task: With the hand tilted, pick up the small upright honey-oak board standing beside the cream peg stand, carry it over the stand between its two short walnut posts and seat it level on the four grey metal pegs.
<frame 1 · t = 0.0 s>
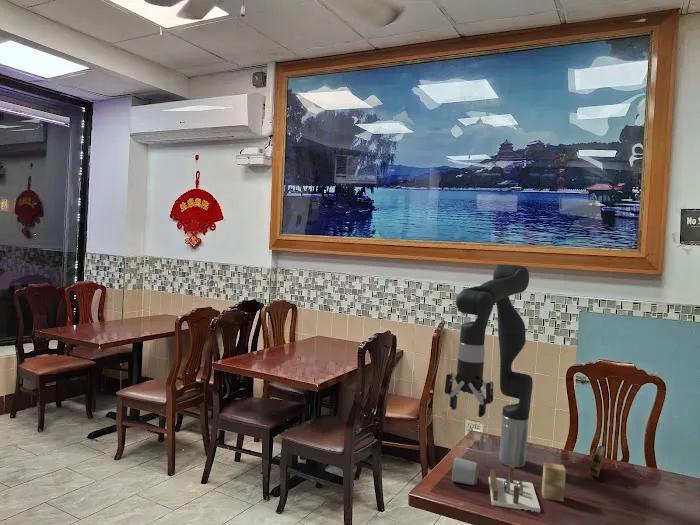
hand: (467, 412, 152), 29 cm above the table, tool pointing down, fingers open, 8 cm apart
oak board: (552, 497, 164), on the table
peg stand: (512, 495, 164), on the table
pegs: (513, 487, 164), in the walnut frame, point 3 cm above the table
ceramic mug: (463, 481, 172), on the table
walnut frame: (503, 482, 164), on the peg stand, point 4 cm above the table
wooden carving: (595, 474, 183), on the table
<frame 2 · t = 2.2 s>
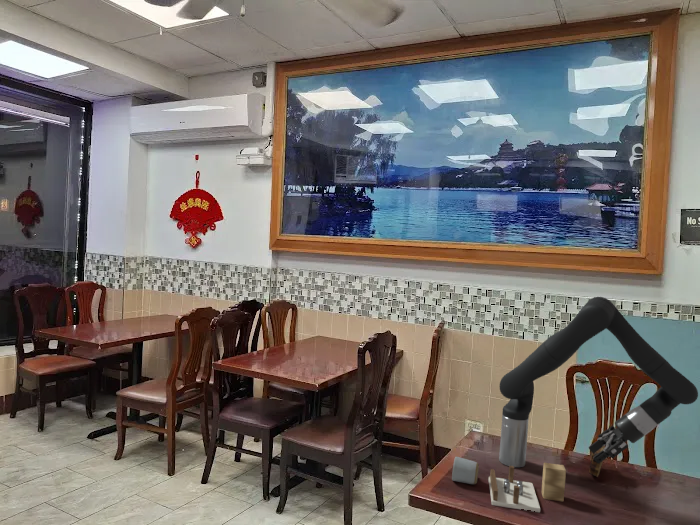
hand: (592, 455, 160), 16 cm above the table, tool tilted 45°, fingers open, 8 cm apart
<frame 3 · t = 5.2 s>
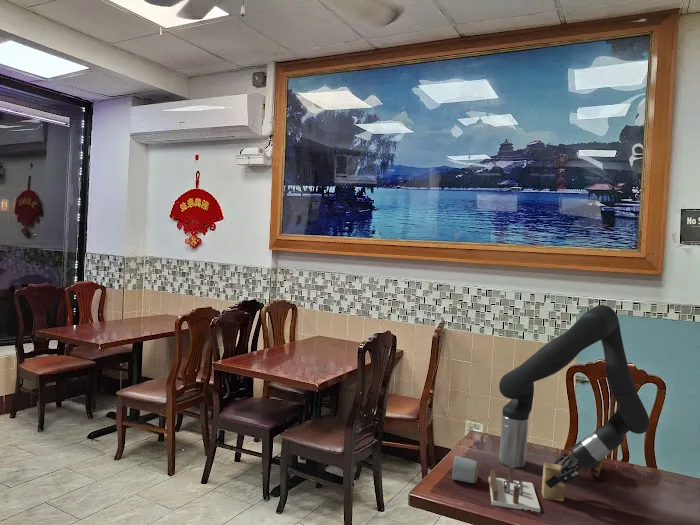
hand: (547, 482, 164), 5 cm above the table, tool tilted 45°, fingers closed on oak board, 4 cm apart
oak board: (552, 497, 164), on the table, touching gripper
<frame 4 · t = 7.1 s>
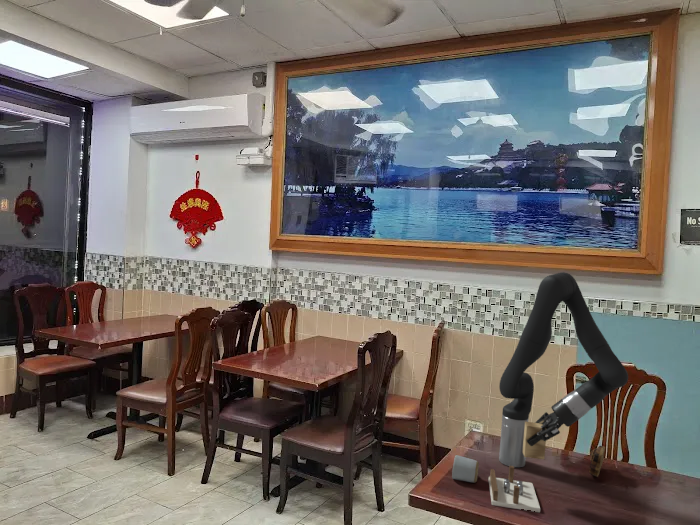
hand: (527, 440, 164), 18 cm above the table, tool tilted 45°, fingers closed on oak board, 4 cm apart
oak board: (533, 455, 164), point 13 cm above the table, touching gripper
when the fingers open (10 cm above the table, at t = 9.4 s): oak board stays where it is, resting on pegs.
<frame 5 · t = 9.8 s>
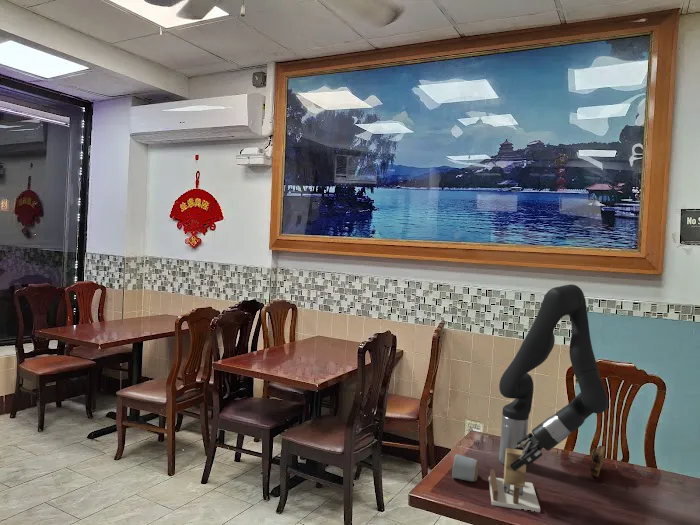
hand: (510, 462, 164), 10 cm above the table, tool tilted 45°, fingers open, 8 cm apart
oak board: (513, 482, 164), point 4 cm above the table, touching pegs
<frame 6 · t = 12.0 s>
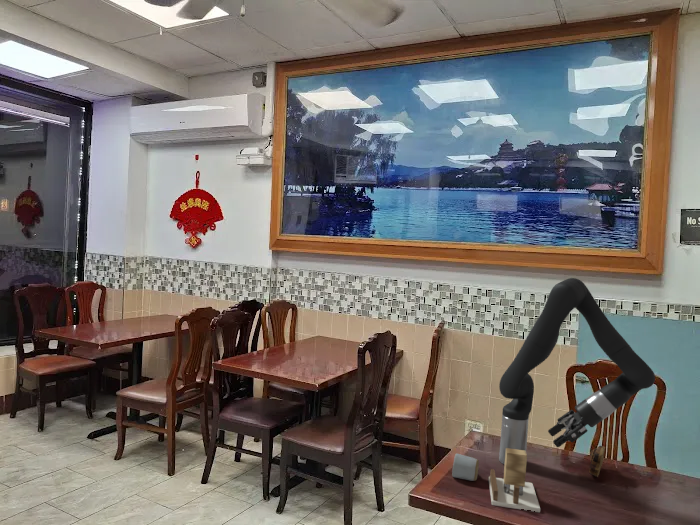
hand: (552, 439, 161), 20 cm above the table, tool tilted 45°, fingers open, 8 cm apart
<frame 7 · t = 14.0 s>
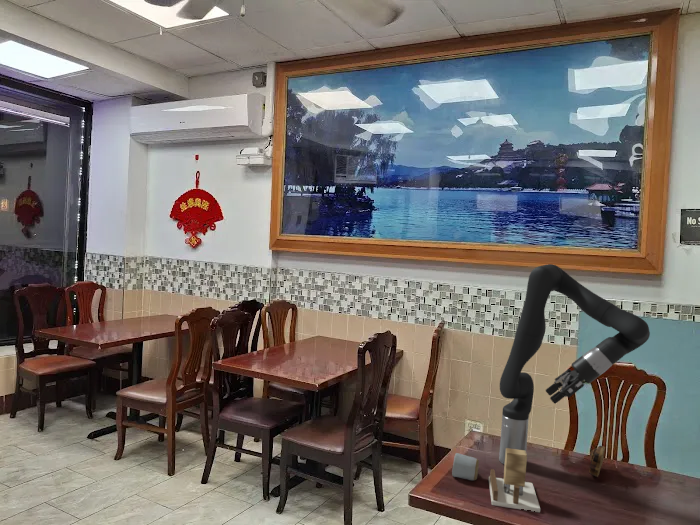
hand: (549, 397, 161), 33 cm above the table, tool tilted 45°, fingers open, 8 cm apart
at the end: oak board 0.1 cm off-centre on the peg stand, point 4.2 cm above the peg stand's base; oak board tilted 0° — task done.
